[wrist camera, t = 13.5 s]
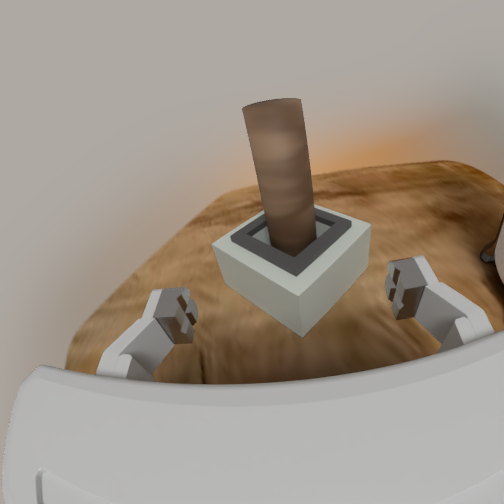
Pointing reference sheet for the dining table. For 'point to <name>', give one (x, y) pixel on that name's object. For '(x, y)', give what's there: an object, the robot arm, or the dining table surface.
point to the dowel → (283, 172)
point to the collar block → (295, 267)
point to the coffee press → (496, 252)
